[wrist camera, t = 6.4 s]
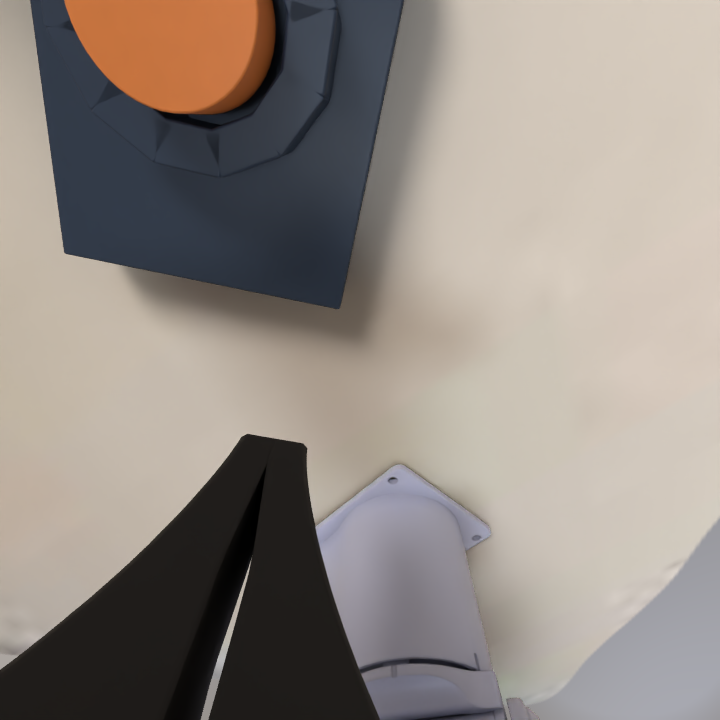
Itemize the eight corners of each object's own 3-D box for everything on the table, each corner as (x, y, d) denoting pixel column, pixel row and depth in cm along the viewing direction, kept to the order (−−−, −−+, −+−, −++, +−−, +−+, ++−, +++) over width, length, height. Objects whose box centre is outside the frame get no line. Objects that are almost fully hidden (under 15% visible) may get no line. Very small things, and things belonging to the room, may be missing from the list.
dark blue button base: (342, 287, 18) (336, 333, 14) (101, 237, 17) (23, 272, 13) (421, -96, 12) (448, -197, 8) (62, -207, 11) (-98, -379, 7)
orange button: (267, 130, 12) (249, 132, 10) (116, 94, 11) (70, 89, 9) (285, -65, 10) (267, -106, 8) (104, -117, 9) (42, -174, 7)
